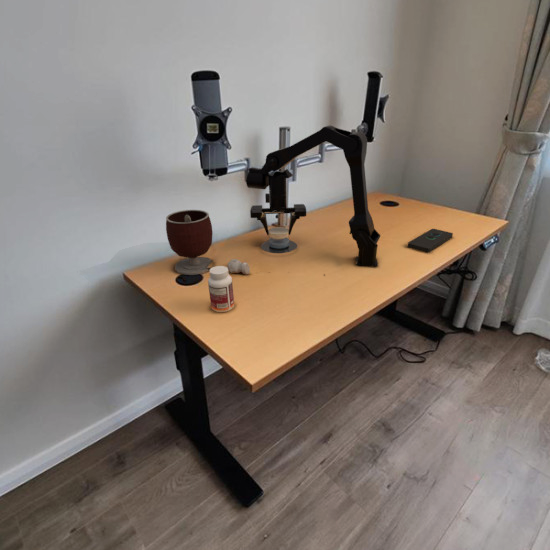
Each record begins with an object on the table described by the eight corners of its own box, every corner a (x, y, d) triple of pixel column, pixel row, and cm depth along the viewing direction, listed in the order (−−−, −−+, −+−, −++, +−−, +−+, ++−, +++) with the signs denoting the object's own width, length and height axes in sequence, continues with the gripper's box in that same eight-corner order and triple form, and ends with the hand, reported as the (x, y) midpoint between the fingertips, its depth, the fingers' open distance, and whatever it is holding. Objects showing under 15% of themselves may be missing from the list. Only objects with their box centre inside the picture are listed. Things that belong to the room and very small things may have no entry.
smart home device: (454, 232, 136) (429, 248, 124) (453, 237, 137) (428, 253, 125) (432, 227, 141) (406, 242, 129) (431, 232, 142) (406, 246, 130)
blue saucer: (287, 250, 127) (287, 244, 126) (267, 249, 128) (267, 243, 127) (290, 242, 133) (290, 236, 132) (270, 241, 134) (270, 235, 133)
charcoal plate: (295, 257, 124) (295, 254, 124) (257, 255, 126) (257, 252, 126) (299, 242, 136) (299, 239, 135) (264, 241, 138) (264, 238, 137)
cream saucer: (287, 240, 125) (287, 234, 124) (266, 239, 126) (266, 233, 125) (290, 233, 132) (290, 227, 130) (270, 232, 133) (270, 226, 132)
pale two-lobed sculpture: (226, 273, 117) (237, 264, 119) (242, 281, 112) (253, 271, 114) (221, 263, 114) (233, 254, 117) (237, 270, 109) (249, 260, 112)
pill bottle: (224, 298, 101) (220, 262, 96) (239, 306, 98) (236, 268, 92) (206, 307, 97) (201, 270, 92) (221, 315, 94) (217, 277, 88)
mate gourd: (173, 260, 125) (163, 202, 115) (214, 255, 127) (207, 198, 118) (172, 281, 111) (161, 217, 102) (218, 275, 114) (211, 212, 105)
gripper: (303, 183, 129) (303, 226, 136) (250, 185, 129) (252, 227, 136) (306, 192, 119) (306, 237, 126) (249, 193, 119) (251, 238, 126)
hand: (278, 234), depth 129 cm, fingers closed on cream saucer, 7 cm apart
